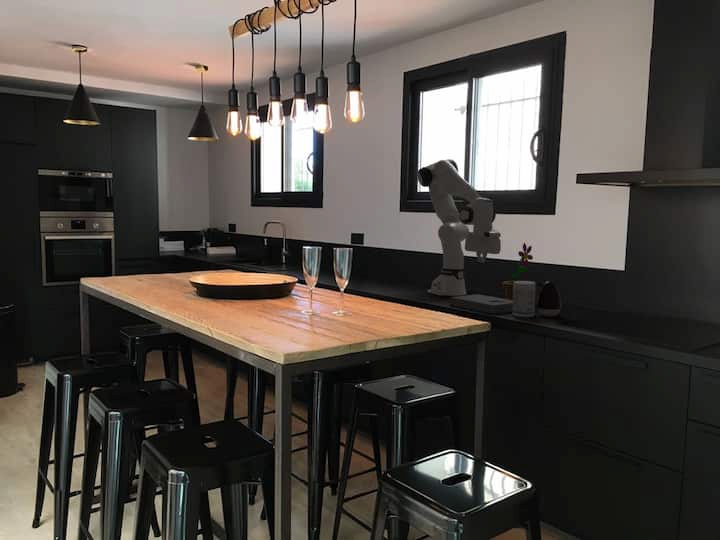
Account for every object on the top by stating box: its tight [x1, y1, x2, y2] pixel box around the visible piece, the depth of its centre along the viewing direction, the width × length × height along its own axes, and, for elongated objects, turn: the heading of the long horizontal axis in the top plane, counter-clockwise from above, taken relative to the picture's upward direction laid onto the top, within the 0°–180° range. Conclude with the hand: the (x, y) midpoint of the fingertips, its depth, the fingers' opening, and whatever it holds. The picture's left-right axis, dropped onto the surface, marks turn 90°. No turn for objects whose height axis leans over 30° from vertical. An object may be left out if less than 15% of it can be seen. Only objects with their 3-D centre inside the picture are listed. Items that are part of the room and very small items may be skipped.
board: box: [449, 294, 513, 315], centre depth 275 cm, size 28×18×4 cm, turn 33°
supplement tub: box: [511, 280, 537, 318], centre depth 255 cm, size 10×10×15 cm
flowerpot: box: [502, 242, 534, 300], centre depth 287 cm, size 14×14×30 cm
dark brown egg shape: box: [536, 280, 562, 318], centre depth 255 cm, size 10×10×15 cm
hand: (481, 262), depth 276 cm, fingers closed
